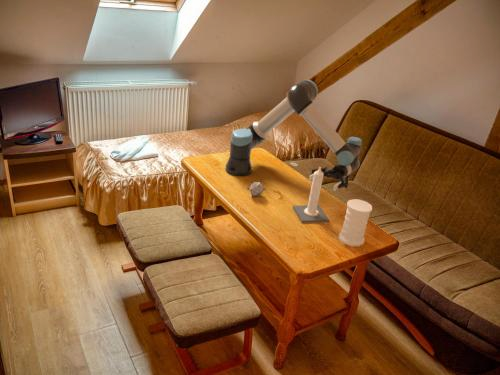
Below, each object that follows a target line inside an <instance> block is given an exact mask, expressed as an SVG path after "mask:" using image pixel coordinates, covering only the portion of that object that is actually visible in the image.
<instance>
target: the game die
mask: <svg viewBox="0 0 500 375" xmlns="http://www.w3.org/2000/svg"><path fill="white" fill-rule="evenodd" d="M247 190H248V191H249V192H250V194H251V195H252V196H251V198H253V197H259V196H260V197H262V194H263V192H264V191H265V190H266V188H264V186H263V184H262V180H260V181H252V180H251V184H250V185H249V187H247Z"/></svg>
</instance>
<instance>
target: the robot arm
mask: <svg viewBox="0 0 500 375" xmlns="http://www.w3.org/2000/svg"><path fill="white" fill-rule="evenodd" d="M318 90H319V89H318V86H317V84H316V83H315V82H314V81H312V80H310V79H303V80H300V81H299V82H297V83H296V84H293V85H292V86H290V88H289V90H288V91H287V92H286V97H285V98H284V99H283V100H282V101H281V102H280V103H278V104H277V105H276V106H275V107H274V108H272V109H271V110H270V111H269V112H268V113H267V114H266V115H265V116H263V117H262V118H260V120H259V121H256V120H255V121H254V122H252V123H251V124H249V126H248V127H247V128H237V129H235V130H234V131H232V133H231V136H230V148H229V157H228V159H227V162H226V164H225V171H226V172H227V173H228V174H229V175H232V176H237V177H245V176H249V175H250V174H251V173H252V170H253V167H252V162H251V154H252V153H251V152H252V150H253V149H255V148H256V147H258V146H259V145H261V144H263V142H264V141H265V140H266V139H267V138H268V137H269V133H270V132H272V131H273V130H274V129H275V128H276V127H278V126H279V125H280V124H281V123H282V122H283V121H285V120H286V119H287V118H288V117H290V116H291V115H292V114H294V112H295V113H296V114H297V115H298V116H299V117H302V118H303V120H305V121H306V122H307V123H308V125H309V126H310V128H312V129H313V130H314V132H315V133H316V134H317V135H318V136H319V137H320V138H321V139H322V140H323V142H324V144H326V145H327V147H328V148H329V149H330V150H331V152H333V153H334V154H335V156H336V157H337V158H336V159H337V160H336V161H337V163H338V164H337V165H335V166H333V167H332V168H331V169H328V166H327V167H323V168H322V167H321V171H322V172H323V173H324V176H323V177H327V178H332V179H334V180H336V181H337V183H335V184H334V185H333V189H332V191H333V192H335V191H337V190H338V189H342V188H345V189H348V187H349V179H350V175H351V174H352V173H353V172H355V171H356V170H358V168H359V167H360V164H361V163H360V160H359V158H360V157H359V156H360V153H361V148H362V143H363V140H362V138H359V137H356V136H349V137H348V138H347V141H345V140H344V139H343V138H342V137H341V136H340V135H339V134H338V133H337V131H336V130H335V129H334V128H333V126H332V125H331V124H330V123H329V122H328V121H327V119H326V118H324V116H323V115H322V114H321V113H320V112H319V110H318V109H317V108H316V107H315V106H314V102H313V101H314V100H315V99H317V96H318V95H319V94H318V93H319V92H318ZM318 170H319V168H315V169H311V173H310V175H309V177H308V182H311V181H313V176H314V172H315V171H318Z"/></svg>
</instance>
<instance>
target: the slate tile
mask: <svg viewBox="0 0 500 375" xmlns="http://www.w3.org/2000/svg"><path fill="white" fill-rule="evenodd" d="M307 207H308V204H305V205H301V204H300V205H292V210H293V211H294V213H295V215H296V216H297V218H298V219H299V221H300V222H301V223H302V224H307V223H309V224H310V223H328V222H330V219H329V217H328V216H327V214H326V213H325V212H324V210H323V209H322V207H321V206H320V204H318V205H317V211H318V212H319V213H318V215H317V216H308V215H306V214H305V213H304V210H305V209H306V208H307Z"/></svg>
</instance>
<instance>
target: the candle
mask: <svg viewBox="0 0 500 375" xmlns="http://www.w3.org/2000/svg"><path fill="white" fill-rule="evenodd" d="M321 168H322V167H321V166H319V168H318V169H319V170H318V171H315V172H314V176H313V180H312V182H311V187H310V192H309V198H308V204H307V205H308V207H307V208H306V209H305V210H304V213H305V214H306V215H308V216H317V215H318V213H319V212H318V211H317V205H319V199H320V193H321V190H322V189H321V188H322V184H323V181H324V177H325V176H324V173H323V172H322V171H321Z"/></svg>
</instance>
